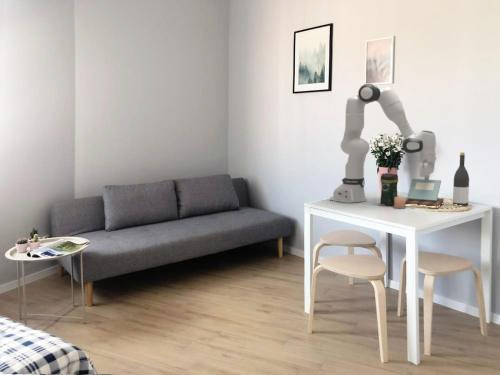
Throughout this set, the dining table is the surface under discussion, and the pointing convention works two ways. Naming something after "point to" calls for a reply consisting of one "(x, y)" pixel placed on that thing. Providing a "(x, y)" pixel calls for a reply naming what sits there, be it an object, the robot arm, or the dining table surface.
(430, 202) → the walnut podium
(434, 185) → the teal display board
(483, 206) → the dining table surface
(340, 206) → the dining table surface
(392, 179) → the coffee jar
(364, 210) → the dining table surface
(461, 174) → the wine bottle
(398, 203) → the peach round lump
